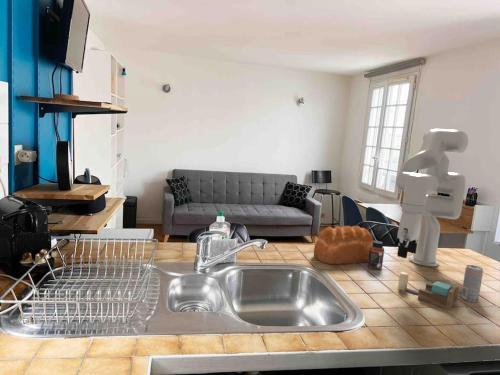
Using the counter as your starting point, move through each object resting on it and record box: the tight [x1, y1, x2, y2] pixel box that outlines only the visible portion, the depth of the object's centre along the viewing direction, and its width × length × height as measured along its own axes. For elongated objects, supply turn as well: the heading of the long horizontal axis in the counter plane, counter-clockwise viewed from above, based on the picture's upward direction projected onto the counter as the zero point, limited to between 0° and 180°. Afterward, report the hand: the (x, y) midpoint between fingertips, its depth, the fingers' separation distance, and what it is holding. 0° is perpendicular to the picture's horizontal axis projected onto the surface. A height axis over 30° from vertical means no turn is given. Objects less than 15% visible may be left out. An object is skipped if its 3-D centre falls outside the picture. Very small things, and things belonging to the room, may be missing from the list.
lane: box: [417, 282, 460, 310], centre depth 131 cm, size 9×10×6 cm
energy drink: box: [460, 264, 484, 303], centre depth 134 cm, size 5×5×12 cm
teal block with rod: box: [397, 271, 453, 297], centre depth 134 cm, size 17×5×6 cm, turn 49°
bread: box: [313, 225, 374, 265], centre depth 169 cm, size 14×26×16 cm, turn 113°
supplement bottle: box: [367, 240, 385, 270], centre depth 161 cm, size 6×6×11 cm
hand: (406, 254), depth 137 cm, fingers open, 9 cm apart
